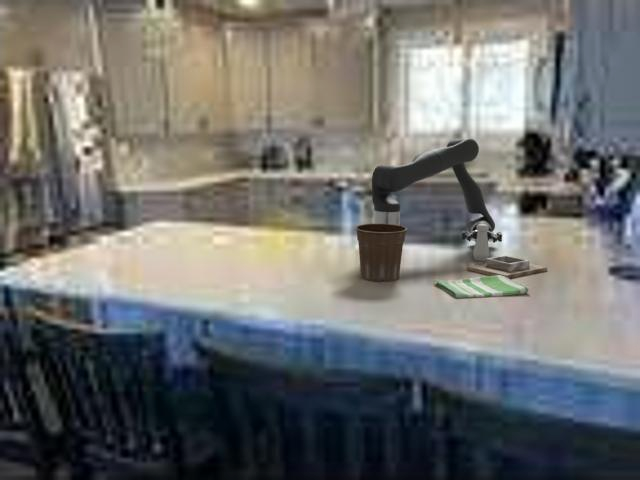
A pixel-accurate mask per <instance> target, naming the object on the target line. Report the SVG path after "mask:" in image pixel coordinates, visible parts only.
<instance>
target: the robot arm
mask: <svg viewBox="0 0 640 480" xmlns="http://www.w3.org/2000/svg"><path fill="white" fill-rule="evenodd" d="M479 150H480V147H479V144H478V142H477V141H476V140H475V139H473V138H469V137H468V138H467V137H464V138H458V139H453V140H450V141H449V142H448V143H447V145H446V147H445V146H444V147H438V148H434V149H431V150H430V149H429V150H427V151H424V152H422V153H420V154H417V155H416V156H415V157H414V158H413V160H412V161H411V162H410V163H406V164H404V165H403V164H402V165H389V164H379V165H378V166H376V167H375V168H374V169H373V172H372V176H371V200H372V201H371V202H372V204H373V224H393V225H400V220H401V203H400V202H399V201H398V200H396V199H395V198H394V197H393V196H392V195H393V194H392V193H397V192H400V191H402V190H404V189H406V188H407V187H409V186H411V185H412V184H415V183H417V182H420V181H423V180H424V179H428V178H430V177H433V176H435V175H438V174H440V173H442V172H445V171H447V170H449V169H452V171H453V173H454V175H455V177H456V179H457V181H458V184H459V186H460V188H461V190H462V196H463V198H464V202H465V206H466V209H467V212H468V213H469V214H477V215H478V214H479V215H482V216H479V217H474V218H472V219H469V220H468V222H467V230H468V231H467V230H462V232H461V240H463V241H465V240H466V241H468V242H471V241H473V242H475V243H476V239H477V234H478V231H477V225H479V224H486V225H488V226H489V231H487V237H488V243H490V242H491V243H496V242H503V234H502V232H500V231H499V232H496V233H495V232H494V231H495V229H496V228H495V227H496V224H495V221H494V219H493V218H492V216H491V214H490V212H489V211H488V209H487V207H486V203H485V199H484V197H483V193H482V192H483V191H482V190H481V188H480V186H479V185H478V183H477V182H476V181H475V179H473V177H472V176H471V175H470V173H469V172H468V170H467V168H466V165H465V163H470V162H473V161H474V160H475V159H476V158H477V157H478V155H479ZM400 226H401V225H400Z"/></svg>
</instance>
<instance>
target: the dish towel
mask: <svg viewBox="0 0 640 480" xmlns="http://www.w3.org/2000/svg"><path fill="white" fill-rule="evenodd" d="M433 281H434V282H436V283H434V285H435V286H437V287H439V288H440V289H442V290H444V291H445V292H447V293H448V294H449V295H450V296H451V297H454V298H455V299H464V298H465V299H466V298H488V297H489V298H490V297H491V298H492V297H507V296H509V295H510V296H519V295H525V294H527V293H528V292H529V291H530V287H529V286H527V285H524V284H522V283H519V282H517V281H515V280H511V278H509V279H508V278H506V277H505V276H501V275H495V276H490V275H485V276H478V277H470V278H461V279H457V280H443V279H442V280H441V279H438V278H437V279H436V278H434V279H433ZM510 296H509V297H510Z"/></svg>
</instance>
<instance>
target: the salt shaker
mask: <svg viewBox="0 0 640 480" xmlns="http://www.w3.org/2000/svg"><path fill="white" fill-rule="evenodd" d="M477 231H478V234H477V239H476V242H475V244H474V248H473V250H472V251H473V252H472V255H473V258H474V260H475V261H476V260H478V261H477V262H484V263H485V259H487V258H490V255H491V254H490V247H489V241H488V237H487V231H489V226H488V225H486V224H479V225H477Z"/></svg>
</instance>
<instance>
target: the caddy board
mask: <svg viewBox="0 0 640 480" xmlns="http://www.w3.org/2000/svg"><path fill="white" fill-rule="evenodd" d="M530 262H531V261H530V260H529V259H524V258H519V257H513V256H509V255H500V256H494V257H493V256H492V257H488V258H487V259H485V261H484V263H479V264H474V265H469V266H466V270H467V269H468V270H471V271H470V272H473V271H475V272H474V273H477V272H478V274H481V273H482V274H481V275H485V276H495V275H501V276H505V277H506V278H508V279H512V278H513V279H514V278H517V277H518V278H519V277H522V276H528V275H533V274H538V273H542V272H543V273H544V272H547V271H548V266H544V265H538V264H533V263H530ZM468 270H467V271H468Z"/></svg>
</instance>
